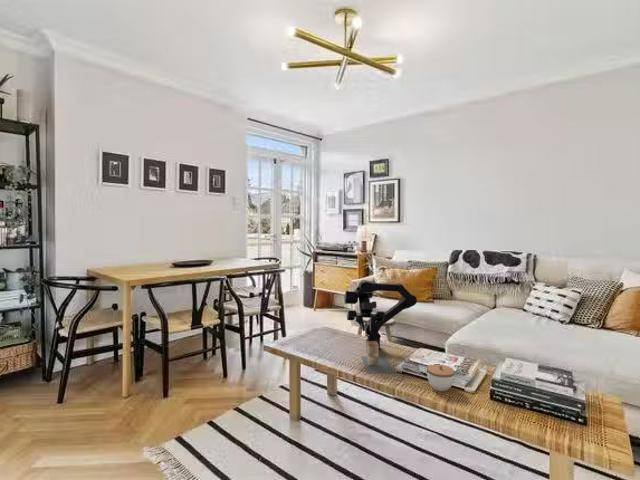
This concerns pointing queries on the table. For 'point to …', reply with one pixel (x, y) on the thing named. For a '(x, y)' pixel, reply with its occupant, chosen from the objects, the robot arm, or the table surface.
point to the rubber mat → (381, 367)
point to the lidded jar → (440, 376)
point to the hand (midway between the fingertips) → (367, 331)
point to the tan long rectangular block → (372, 352)
